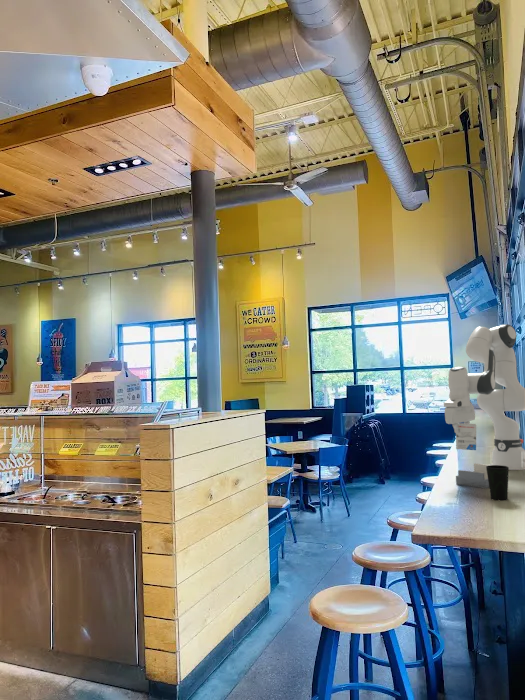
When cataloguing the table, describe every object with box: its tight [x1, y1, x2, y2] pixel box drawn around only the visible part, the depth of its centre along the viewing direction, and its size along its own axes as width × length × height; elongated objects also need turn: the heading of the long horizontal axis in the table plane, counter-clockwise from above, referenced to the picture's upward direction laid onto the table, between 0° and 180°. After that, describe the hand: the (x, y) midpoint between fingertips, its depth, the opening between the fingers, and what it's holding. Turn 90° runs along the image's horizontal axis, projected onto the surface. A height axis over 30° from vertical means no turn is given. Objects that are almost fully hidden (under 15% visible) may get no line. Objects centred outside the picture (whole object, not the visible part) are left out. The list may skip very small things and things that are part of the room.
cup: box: [486, 464, 510, 502], centre depth 191 cm, size 8×8×12 cm
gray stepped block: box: [455, 469, 490, 489], centre depth 219 cm, size 16×13×6 cm
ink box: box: [455, 422, 477, 451], centre depth 235 cm, size 9×5×12 cm, turn 70°
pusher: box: [473, 462, 490, 479], centre depth 221 cm, size 5×10×7 cm, turn 39°
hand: (461, 431), depth 236 cm, fingers closed on ink box, 6 cm apart
